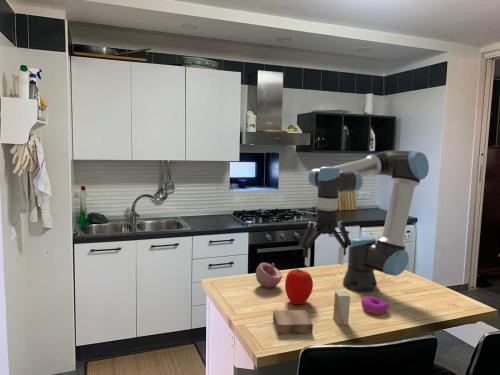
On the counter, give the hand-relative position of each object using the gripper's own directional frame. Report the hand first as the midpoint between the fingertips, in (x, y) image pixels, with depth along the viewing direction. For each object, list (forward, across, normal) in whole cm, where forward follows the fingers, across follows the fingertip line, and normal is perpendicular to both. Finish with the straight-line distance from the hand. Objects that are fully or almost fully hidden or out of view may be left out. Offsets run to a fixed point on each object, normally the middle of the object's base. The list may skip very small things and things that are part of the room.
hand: (324, 264), depth 143 cm
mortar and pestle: (+21, +11, -33) cm, 40 cm away
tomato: (+21, +4, -14) cm, 25 cm away
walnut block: (+21, +14, +5) cm, 26 cm away
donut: (+21, -24, -1) cm, 31 cm away
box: (+21, -5, +6) cm, 22 cm away
